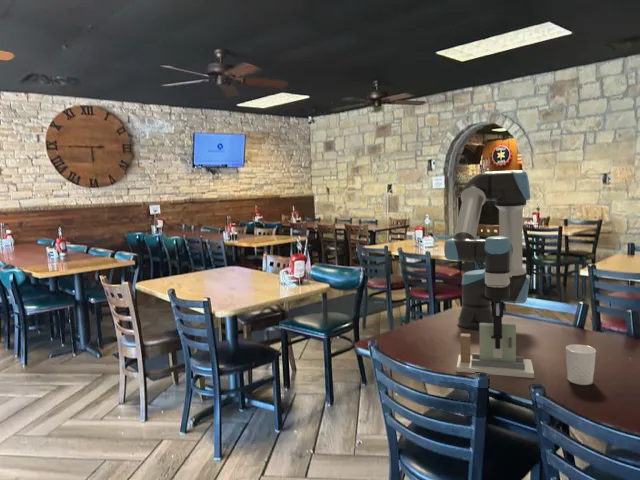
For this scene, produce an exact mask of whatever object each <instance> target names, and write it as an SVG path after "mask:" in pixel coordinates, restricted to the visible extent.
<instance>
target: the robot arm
mask: <svg viewBox="0 0 640 480" xmlns="http://www.w3.org/2000/svg"><path fill="white" fill-rule="evenodd" d="M529 182H530V181H529V177H528V173H527V172H526V171H525V170H522V169H521V170H519V169H517V170H516V169H511V170H509V169H508V170H498V171H497V170H496V171H493V170H492V171H483V172H480V173H478V174H476V175H474V176H473V177H472V178H470V179H469V180H468V181H467V182H466V184H465V185H464V187H463V188H462V190H461V194H460V201H461V205H460V209H459V212H458V217H457V222H456V225H455V230H454V234H453V238H448V239H446V240H445V242H444V248H443V251H444V257H445V259H446V260H448V261H456V262H484V265H485V266H484V268H485V269H473V270H469V271H466V272H464V273H463V274H462V277H461V305H462V306H461V309H460V313H459V316H458V318H457V325H458V326H459V327H461V328H465V329H469V330H479V325H480V323H493V324H494V335H493V336H491V338H493V358H502V324H503V317H504V310H505V303H507V304H524V303H526V302H527V301H528V297H529V296H528V295H529V289H530V283H531V275H529V274H527V270H526V269H525V268H524V267H523V208H525V207H526V206H527V201H529V200H531V188H530V183H529ZM491 201H492V202H494V206H495V207H496V209H498V225H499V226H498V228H499V229H498V230H499V233H498V235H497V236H488V237H486V238H485V239H482V238H481V239H479V238H478V239H477V238H476V237H477V233H478V230H479V229H478V228H479V222H480V218H481V213H482V207H483V205H484V204H485V203H486V202H491Z"/></svg>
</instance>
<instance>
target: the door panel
mask: <svg viewBox="0 0 640 480" xmlns="http://www.w3.org/2000/svg"><path fill="white" fill-rule="evenodd" d="M478 331H479V353H480V360H492V361H505V362H516V356H517V325H516V324H513V323H512V324H509V323H502V358H493V338H491V336H493V335H494V324H493V323H480V325H479V329H478Z"/></svg>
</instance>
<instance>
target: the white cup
mask: <svg viewBox="0 0 640 480" xmlns="http://www.w3.org/2000/svg"><path fill="white" fill-rule="evenodd" d="M596 352H597V350H596V349H595V348H594V347H592V346H589V345H584V344H578V343H577V344H568V345H566V346H565V357H566V358H565V359H566V361H565V362H566V371H567V376H566V377H567V380H568V381H569V382H570V383H573V384H576V385H580V386H589V385H592V384H594V383H593V382H594V375H595V374H594V373H595V366H596Z"/></svg>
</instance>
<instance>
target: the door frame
mask: <svg viewBox="0 0 640 480" xmlns="http://www.w3.org/2000/svg"><path fill="white" fill-rule="evenodd" d="M459 339H460V341H459V343H460V354H458V358H457V363H456V372H457V373H467V374H468V373H470V374H476V373H475V372H485V373H487V374H486V375H494V376H502V377H504V376H507V377H518V378H528V379H529V378H530V379H532V378H533V379H534V378H535V372H534V368H533V362H532V359H528V358H527V359H525V357H524V356H523V355H522V356H521V355H516V362H505V361H492V360H480V352H471V333H464V332H463V333H460V338H459ZM471 354H472V355H471Z"/></svg>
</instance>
